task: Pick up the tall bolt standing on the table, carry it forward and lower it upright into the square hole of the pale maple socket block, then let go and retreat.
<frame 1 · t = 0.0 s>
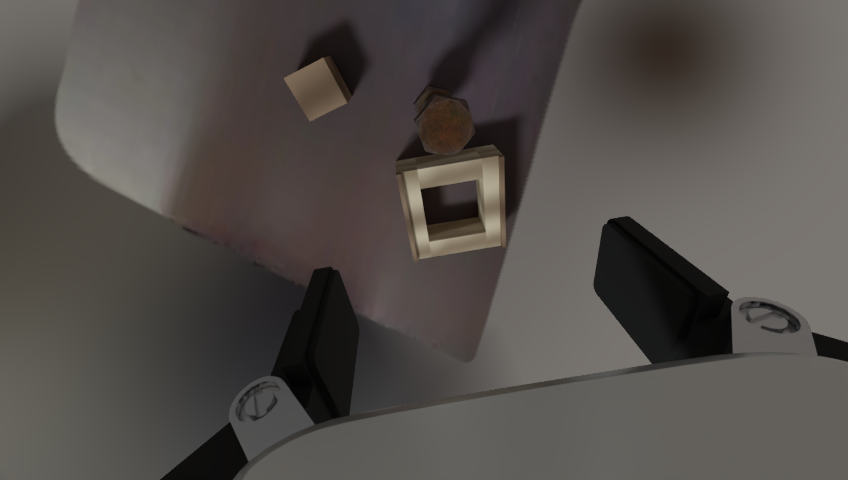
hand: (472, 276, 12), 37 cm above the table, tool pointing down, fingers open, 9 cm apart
walnut cube: (324, 85, 41), on the table
socket: (449, 197, 50), on the table
bolt: (430, 101, 43), on the table
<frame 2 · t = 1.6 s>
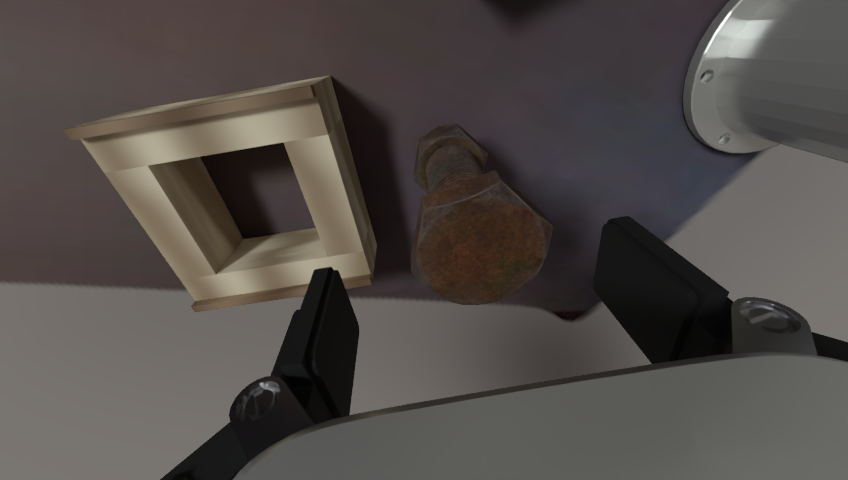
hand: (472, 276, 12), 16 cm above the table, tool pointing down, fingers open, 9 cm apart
socket: (271, 186, 26), on the table
bolt: (442, 144, 25), on the table
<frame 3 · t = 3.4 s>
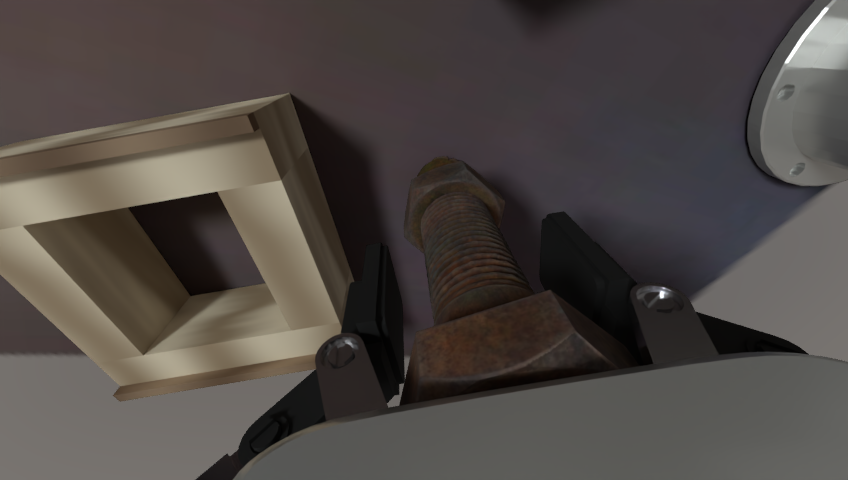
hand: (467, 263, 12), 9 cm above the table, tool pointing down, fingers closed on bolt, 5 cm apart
socket: (220, 233, 20), on the table
bolt: (440, 178, 20), on the table, touching gripper
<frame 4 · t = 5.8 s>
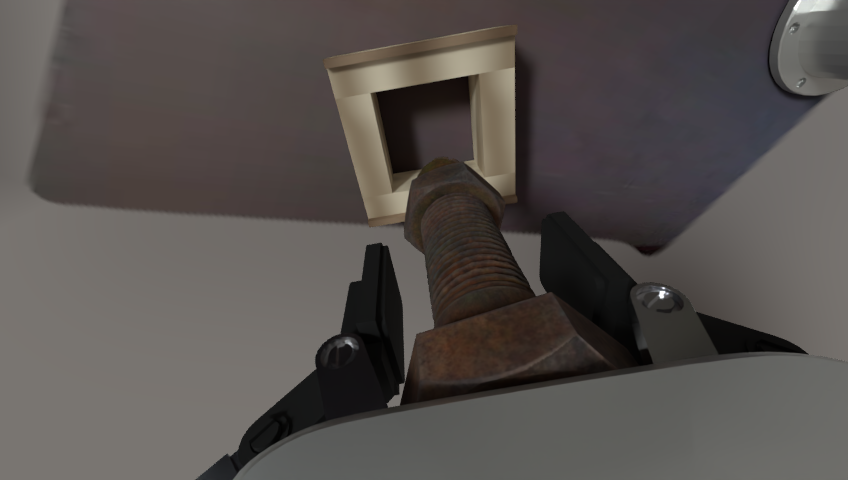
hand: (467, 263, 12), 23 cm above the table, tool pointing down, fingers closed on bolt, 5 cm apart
socket: (427, 125, 32), on the table
bolt: (440, 179, 20), point 14 cm above the table, touching gripper
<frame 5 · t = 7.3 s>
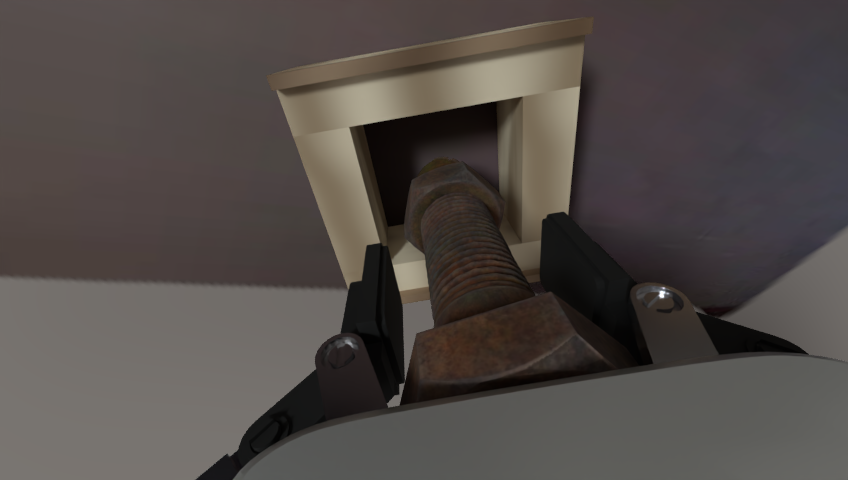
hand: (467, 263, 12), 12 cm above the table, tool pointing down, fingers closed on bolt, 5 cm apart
socket: (436, 162, 22), on the table
bolt: (440, 179, 20), point 3 cm above the table, touching gripper
when the fingers open (10 cm above the table, at t = 8.4 s): bolt drops 2 cm, resting in socket.
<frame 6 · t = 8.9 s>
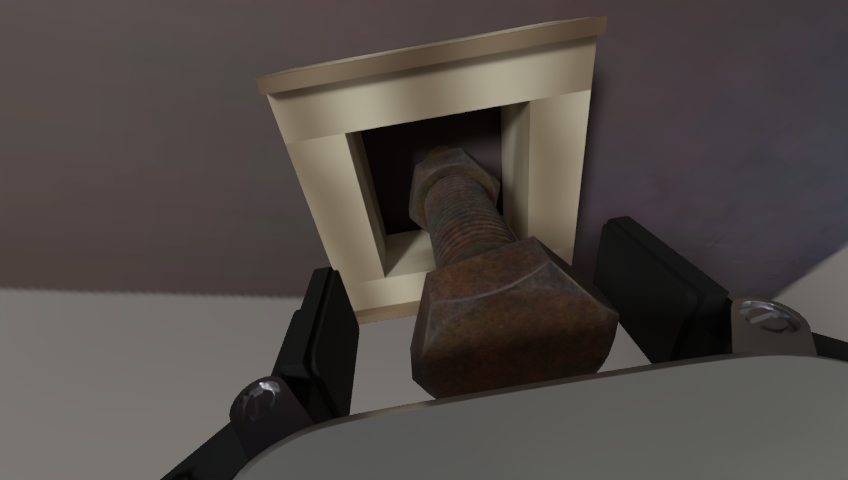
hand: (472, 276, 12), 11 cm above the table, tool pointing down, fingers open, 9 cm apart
socket: (437, 169, 21), on the table
bolt: (441, 167, 21), resting in socket
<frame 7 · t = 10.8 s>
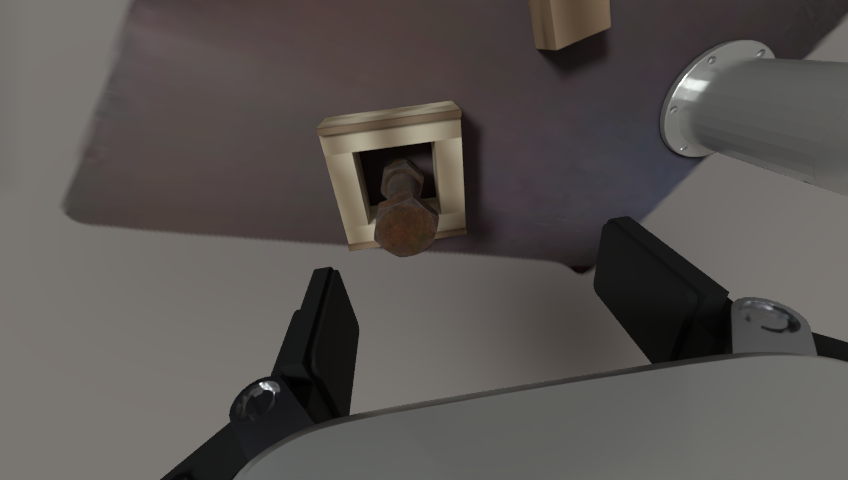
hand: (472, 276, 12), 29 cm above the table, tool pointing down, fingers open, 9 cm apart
walnut cube: (555, 11, 33), on the table
socket: (398, 169, 40), on the table
bolt: (400, 169, 40), resting in socket
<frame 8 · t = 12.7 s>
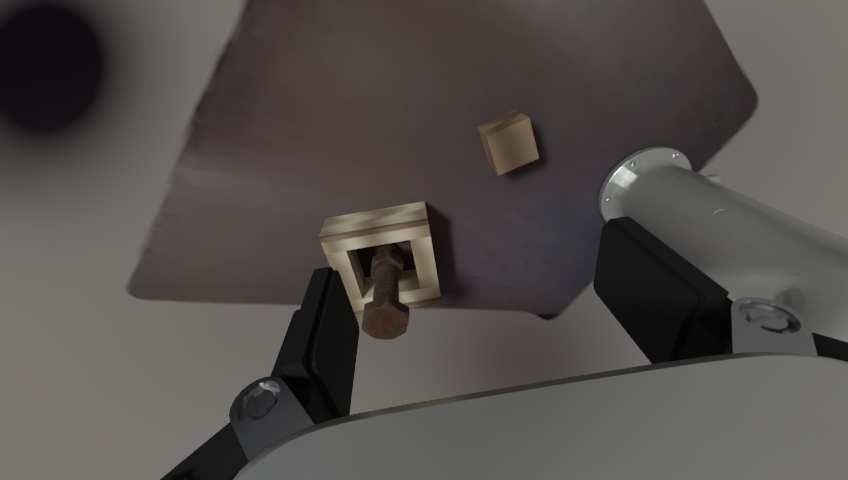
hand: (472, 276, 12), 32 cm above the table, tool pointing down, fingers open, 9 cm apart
walnut cube: (501, 136, 42), on the table
socket: (385, 250, 49), on the table
bolt: (387, 249, 49), resting in socket
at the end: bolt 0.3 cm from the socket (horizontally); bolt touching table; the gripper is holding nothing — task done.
